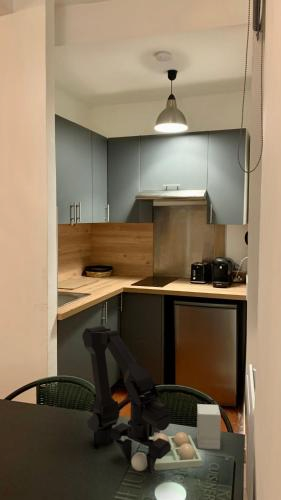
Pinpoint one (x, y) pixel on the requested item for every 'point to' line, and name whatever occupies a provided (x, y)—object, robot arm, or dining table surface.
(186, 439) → the brown egg back right
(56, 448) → the dining table surface
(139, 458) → the white egg
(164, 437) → the brown egg back left
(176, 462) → the egg tray
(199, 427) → the supplement box
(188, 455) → the brown egg front right
